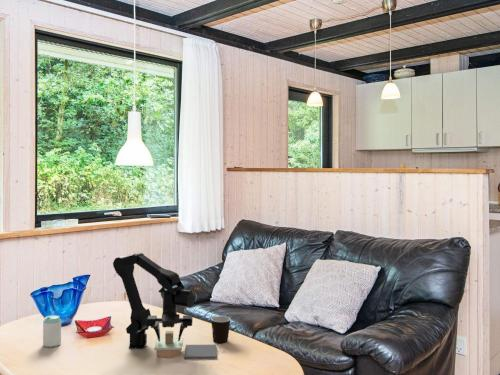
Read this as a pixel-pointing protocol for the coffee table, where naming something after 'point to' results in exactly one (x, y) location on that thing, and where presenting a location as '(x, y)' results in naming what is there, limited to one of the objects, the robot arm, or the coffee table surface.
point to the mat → (200, 352)
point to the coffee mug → (220, 329)
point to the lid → (169, 342)
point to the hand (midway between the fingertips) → (169, 341)
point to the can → (52, 331)
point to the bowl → (168, 353)
